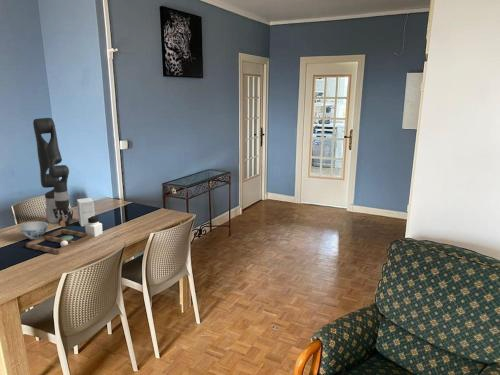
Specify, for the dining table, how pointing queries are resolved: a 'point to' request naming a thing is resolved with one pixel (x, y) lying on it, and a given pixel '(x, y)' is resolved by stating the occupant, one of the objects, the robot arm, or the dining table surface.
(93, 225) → the medicine bottle
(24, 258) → the dining table surface
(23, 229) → the chinaware
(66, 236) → the felt pad
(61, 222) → the terracotta ball
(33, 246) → the dark wooden tray
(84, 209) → the supplement box
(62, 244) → the off-white ball
